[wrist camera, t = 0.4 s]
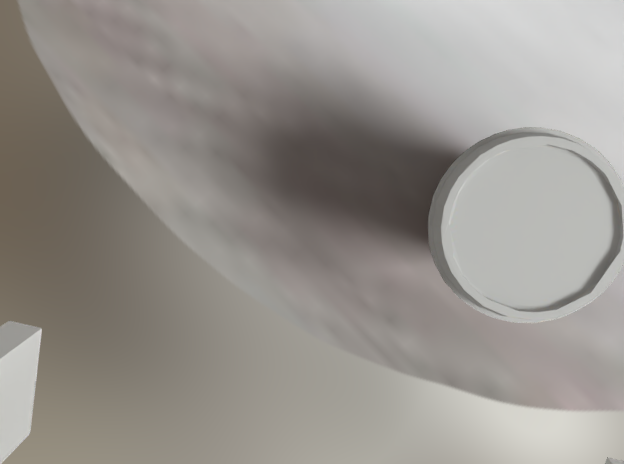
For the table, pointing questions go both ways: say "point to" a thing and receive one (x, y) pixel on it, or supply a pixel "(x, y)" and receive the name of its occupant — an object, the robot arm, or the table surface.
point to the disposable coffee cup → (528, 225)
